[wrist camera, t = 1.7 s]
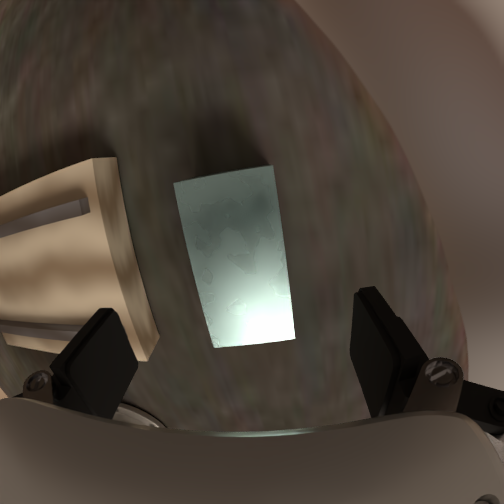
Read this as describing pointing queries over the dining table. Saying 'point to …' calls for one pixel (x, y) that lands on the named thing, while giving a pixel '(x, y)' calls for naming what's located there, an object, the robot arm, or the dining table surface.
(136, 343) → the stand
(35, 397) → the robot arm
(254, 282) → the housing
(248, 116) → the dining table surface
